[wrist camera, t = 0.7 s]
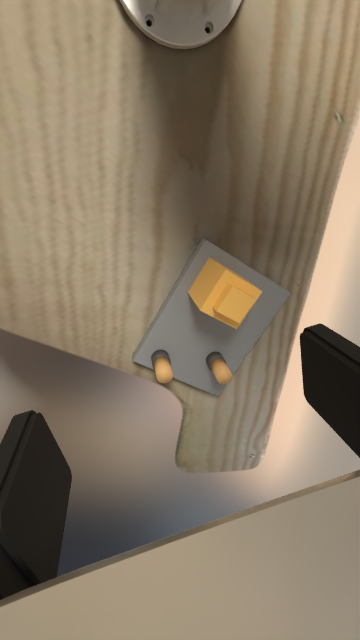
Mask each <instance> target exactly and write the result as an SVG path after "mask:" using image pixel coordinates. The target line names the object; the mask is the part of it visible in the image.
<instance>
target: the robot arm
mask: <svg viewBox="0 0 360 640" xmlns="http://www.w3.org/2000/svg"><path fill="white" fill-rule="evenodd" d="M119 1H120V3H121V4H122V6H123V8H124V10H125V12H126V13H127V15H128V16H129V17H130V19H131V20H132V21H133V23H134V24H135V25H136V26H137V27H138V28H139V29H140V30H141V31H142V32H143V33H144V34H145V35H146V36H148V37H149V38H151V39H152V40H154V41H156V42H157V43H159V44H161V45H164V46H167V47H170V48H174V49H191V48H197V47H199V46H202V45H204V44H207V43H208V42H210V41H211V40H213V39H214V38H215V37H217V36H218V35H219V34H220V33H221V32H222V31H223V30H224V29H225V28H226V27H227V25H228V24H229V22H230V21H231V19H232V18H233V17H234V15H235V13H236V11H237V9H238V7H239V5H240V3H241V1H242V0H119ZM147 22H150V23H151V25H152V26H151V27H149V26H147V25H146V23H147ZM205 29H208V31H209V34H208V33H206V31H205ZM300 345H301V346H300V347H301V360H302V375H303V389H304V395H305V398H306V400H307V402H308V403H309V404H310V405H311V406H312V407H313V408H314V409H315V411H317V413H318V414H319V415H320V416H321V417H322V418H323V419H324V420H325V421H326V422H327V423H328V424H329V425H330V427H331V428H333V430H334V431H335V432H336V433H337V434H338V435H339V436H340V437H341V438H342V439H343V440H344V441H345V443H346V444H347V445H348V446H349V447H350V448H351V449H352V450H353V451H354V452H355V453H356V454H357V455H358V456H359V458H360V347H359V346H357V345H355V344H354V343H352V342H351V341H349V340H347V339H346V338H344V337H342V336H341V335H339V334H338V333H336V332H334V331H333V330H331V329H329V328H328V327H326V326H324V325H323V324H317V325H314V326H310V327H307V328H305V329H304V331H303V333H301V334H300ZM71 480H72V475H71V470H70V467H69V466H68V464H67V462H66V460H65V458H64V456H63V454H62V452H61V450H60V448H59V446H58V444H57V442H56V440H55V438H54V437H53V435H52V433H51V431H50V429H49V427H48V425H47V423H46V421H45V419H44V417H43V415H42V414H41V413H36V412H35V411H33V410H31V411H28V412H25V413H21V414H18V415H15V416H14V417H13V418H12V420H11V423H10V425H9V427H8V429H7V431H6V433H5V435H4V438H3V440H2V442H1V444H0V640H360V470H358V471H355V472H352V473H349V474H346V475H343V476H340V477H337V478H335V479H332V480H329V481H326V482H323V483H320V484H317V485H314V486H311V487H308V488H306V489H303V490H300V491H297V492H294V493H291V494H288V495H285V496H282V497H280V498H277V499H274V500H271V501H268V502H265V503H263V504H260V505H257V506H254V507H251V508H248V509H245V510H242V511H240V512H237V513H234V514H232V515H228V516H225V517H223V518H220V519H217V520H214V521H211V522H209V523H206V524H203V525H200V526H197V527H194V528H192V529H189V530H186V531H183V532H180V533H177V534H175V535H172V536H169V537H166V538H163V539H161V540H158V541H155V542H152V543H150V544H147V545H144V546H141V547H138V548H136V549H133V550H130V551H127V552H124V553H122V554H119V555H116V556H113V557H111V558H108V559H105V560H102V561H99V562H97V563H94V564H91V565H88V566H86V567H83V568H80V569H78V570H75V571H72V572H70V573H67V574H64V575H62V576H59V577H57V570H58V564H59V558H60V551H61V545H62V538H63V532H64V526H65V519H66V512H67V506H68V500H69V493H70V487H71Z"/></svg>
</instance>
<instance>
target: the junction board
mask: <svg viewBox="0 0 360 640" xmlns="http://www.w3.org/2000/svg"><path fill="white" fill-rule="evenodd" d="M209 257H210V258H212V259H214V260H215V261H217V262H219V263H220V264H222V265H224V266H225V267H227V268H228V269H230V270H232V271H233V272H235V273H237V274H238V275H240V276H242V277H243V278H244V279H246V280H247V281H249V282H250V283H251V284H253V285H254V286H256V287H257V288H258V289H260V290H261V291H263V292H262V293H261V295H260V296H259V297H258V299H257V300H256V302H255V303H254V305H253V306H252V308H251V309H250V311H249V312H248V314H247V315H246V316H245V318H244V319H243V321H242V322H241V324H240V325H239V327H238V328H237V329H235V328H233V327H231V326H229V325H227V324H225V323H223V322H221V321H219V320H218V319H216V318H214V317H212V316H210V315H208V314H206V313H204V312H202V311H200V310H199V308H198V307H197V305H196V304H195V302H194V301H193V299H192V298H191V296H190V295H189V293H188V291H189V289H190V288H191V286H192V284H193V283H194V281H195V279H196V278H197V276H198V275H199V273H200V271H201V270H202V268H203V266H204V265H205V263H206V262H207V260H208V258H209ZM290 294H291V292H289V291H287V290H286V289H284V288H283V287H281V286H279V285H278V284H276V283H275V282H273V281H271V280H270V279H268V278H267V277H265V276H263V275H262V274H260V273H259V272H257V271H255V270H254V269H252V268H251V267H249V266H247V265H246V264H244V263H243V262H241V261H240V260H238V259H236V258H235V257H233V256H232V255H230V254H228V253H227V252H225V251H224V250H222V249H220V248H219V247H217V246H216V245H214V244H212V243H211V242H209V241H208V240H206V239H204V238H202V239H201V241H200V243H199V244H198V246H197V248H196V249H195V251H194V253H193V255H192V256H191V258H190V260H189V261H188V263H187V265H186V266H185V268H184V270H183V271H182V273H181V275H180V276H179V278H178V280H177V281H176V283H175V285H174V286H173V288H172V290H171V291H170V293H169V295H168V296H167V298H166V300H165V301H164V303H163V305H162V306H161V308H160V310H159V312H158V313H157V315H156V317H155V318H154V320H153V322H152V323H151V325H150V327H149V328H148V330H147V332H146V333H145V335H144V337H143V338H142V340H141V342H140V343H139V345H138V347H137V348H136V350H135V352H134V353H133V355H132V358H133V361H134V362H136V363H139V364H141V365H143V366H146V367H148V368H151V369H153V370H155V373H156V377H157V380H158V381H159V382H160V383H168V382H170V381H171V380H172V378H175V379H177V380H180V381H182V382H185V383H187V384H189V385H192V386H194V387H197V388H199V389H202V390H204V391H206V392H209V393H211V394H214V395H216V396H218V395H219V394H220V392H221V391H222V389H223V388H224V387H225V385H226V384H227V383H228V382H230V380H231V379H232V375H233V374H234V373H235V371H236V370H237V368H238V367H239V366H240V364H241V363H242V361H243V360H244V359H245V357H246V356H247V354H248V353H249V352H250V350H251V349H252V347H253V346H254V345H255V343H256V342H257V340H258V339H259V338H260V336H261V335H262V333H263V332H264V331H265V329H266V328H267V326H268V325H269V324H270V322H271V321H272V319H273V318H274V317H275V315H276V314H277V312H278V311H279V310H280V308H281V307H282V305H283V304H284V302H285V301H286V300H287V298H288V297H289V295H290Z"/></svg>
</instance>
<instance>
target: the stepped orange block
mask: <svg viewBox="0 0 360 640" xmlns="http://www.w3.org/2000/svg"><path fill="white" fill-rule="evenodd" d="M262 292H263V291H261V290H260V289H258V288H257V287H256V286H254V285H253V284H251V283H250V282H249V281H247V280H246V279H244V278H243V277H242V276H240V275H238V274H237V273H235V272H233V271H232V270H230V269H228V268H227V267H225V266H224V265H222V264H220V263H219V262H217V261H215V260H214V259H212V258H210V257H209V258H208V260H207V262H206V263H205V265H204V266H203V268H202V270H201V271H200V273H199V275H198V276H197V278H196V279H195V281H194V283H193V284H192V286H191V288H190V289H189V291H188V293H189V295H190V296H191V298H192V299H193V301H194V302H195V304H196V305H197V307H198V308H199V310H200V311H202V312H204V313H206V314H208V315H210V316H212V317H214V318H216V319H218V320H219V321H221V322H223V323H225V324H227V325H229V326H231V327H233V328H235V329H237V328H238V327H239V325H240V324H241V322H242V321H243V319H244V318H245V316H246V315H247V314H248V312H249V311H250V309H251V308H252V306H253V305H254V303H255V302H256V300H257V299H258V297H259V296H260V295H261V293H262Z"/></svg>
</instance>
